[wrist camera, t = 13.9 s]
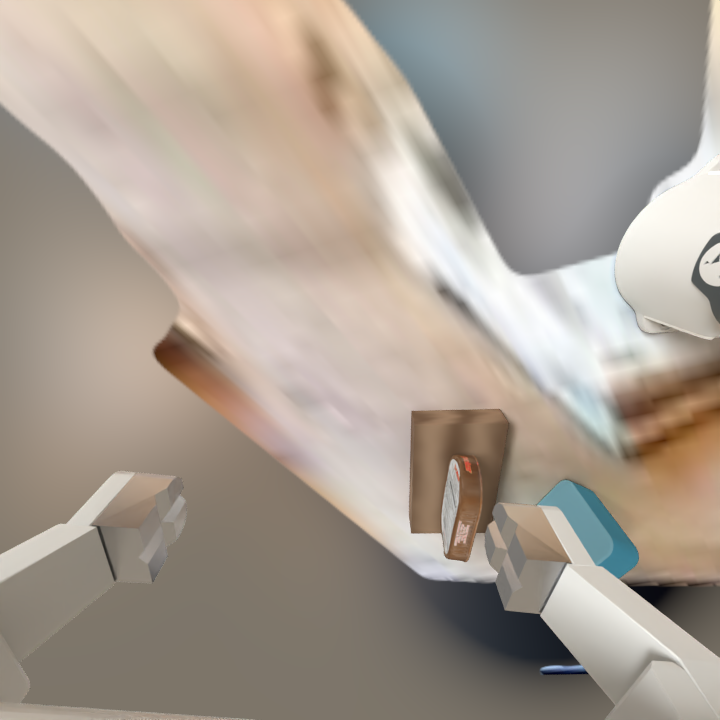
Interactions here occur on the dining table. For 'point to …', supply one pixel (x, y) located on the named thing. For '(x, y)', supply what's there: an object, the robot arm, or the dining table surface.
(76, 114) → the dining table surface
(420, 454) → the walnut block
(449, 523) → the tin
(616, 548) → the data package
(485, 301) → the dining table surface
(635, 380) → the dining table surface
